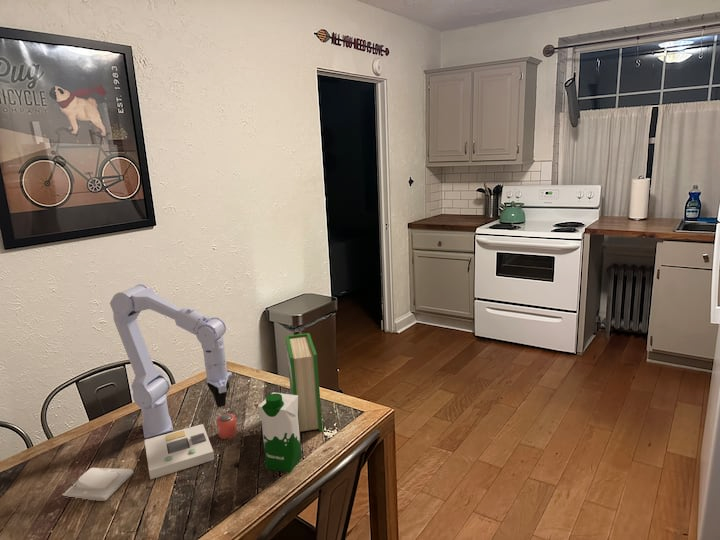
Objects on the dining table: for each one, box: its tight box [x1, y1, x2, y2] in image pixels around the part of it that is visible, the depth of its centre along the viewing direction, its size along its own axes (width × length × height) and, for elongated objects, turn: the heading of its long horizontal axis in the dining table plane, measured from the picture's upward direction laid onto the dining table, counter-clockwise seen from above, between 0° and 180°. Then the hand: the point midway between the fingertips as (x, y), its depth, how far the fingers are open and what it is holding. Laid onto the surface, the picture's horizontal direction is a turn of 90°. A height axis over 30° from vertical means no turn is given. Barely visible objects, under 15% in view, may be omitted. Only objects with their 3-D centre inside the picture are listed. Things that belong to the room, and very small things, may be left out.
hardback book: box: [285, 332, 324, 436], centre depth 147 cm, size 18×7×24 cm, turn 13°
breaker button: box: [167, 439, 189, 454], centre depth 135 cm, size 5×5×2 cm
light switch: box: [61, 467, 134, 502], centre depth 123 cm, size 11×4×13 cm
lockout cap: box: [216, 413, 238, 440], centre depth 143 cm, size 5×5×5 cm
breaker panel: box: [144, 423, 215, 480], centre depth 134 cm, size 16×16×3 cm
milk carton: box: [257, 392, 303, 474], centre depth 126 cm, size 9×9×20 cm
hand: (221, 405), depth 141 cm, fingers closed
